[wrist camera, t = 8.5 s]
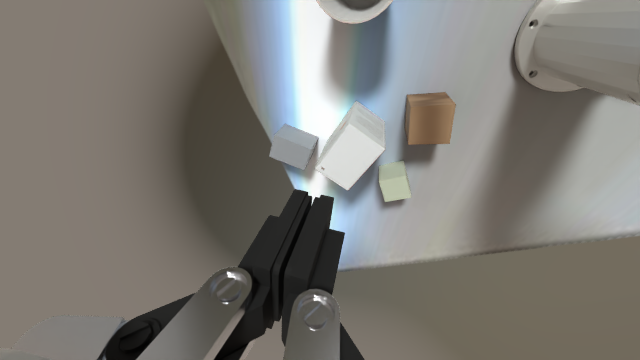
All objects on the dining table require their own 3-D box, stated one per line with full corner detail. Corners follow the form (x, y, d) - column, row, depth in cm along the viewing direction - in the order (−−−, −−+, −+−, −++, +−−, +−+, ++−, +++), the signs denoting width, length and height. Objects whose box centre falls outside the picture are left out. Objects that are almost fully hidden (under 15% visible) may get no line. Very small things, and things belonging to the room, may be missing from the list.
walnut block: (445, 92, 35) (455, 104, 30) (440, 127, 37) (449, 143, 32) (406, 94, 36) (410, 106, 31) (405, 128, 38) (408, 144, 33)
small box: (354, 157, 43) (347, 192, 34) (327, 138, 42) (312, 170, 33) (386, 120, 38) (387, 150, 30) (356, 98, 37) (348, 122, 29)
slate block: (318, 137, 42) (311, 149, 38) (311, 156, 44) (304, 170, 40) (285, 123, 42) (274, 134, 38) (279, 143, 44) (269, 156, 40)
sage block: (403, 160, 41) (405, 175, 37) (408, 180, 43) (411, 197, 39) (379, 165, 43) (378, 181, 38) (385, 185, 44) (385, 202, 40)
